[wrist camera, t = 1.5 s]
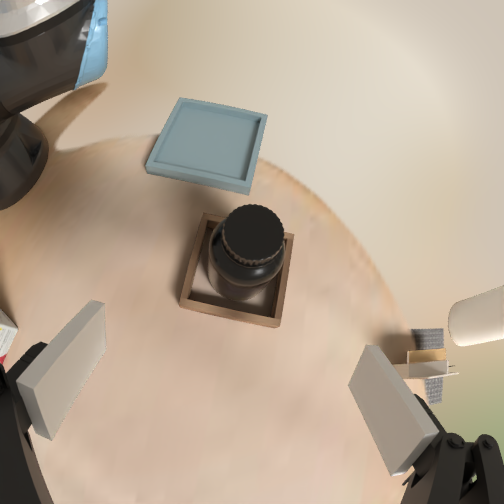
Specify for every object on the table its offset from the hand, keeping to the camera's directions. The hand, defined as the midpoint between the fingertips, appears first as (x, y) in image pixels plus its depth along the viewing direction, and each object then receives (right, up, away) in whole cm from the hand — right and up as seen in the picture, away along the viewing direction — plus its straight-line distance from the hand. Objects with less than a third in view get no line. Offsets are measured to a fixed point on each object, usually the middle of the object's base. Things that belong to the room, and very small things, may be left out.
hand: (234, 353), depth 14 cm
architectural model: (+21, -11, +20) cm, 31 cm away
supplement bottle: (-1, +2, +20) cm, 21 cm away
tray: (-5, +20, +26) cm, 33 cm away
